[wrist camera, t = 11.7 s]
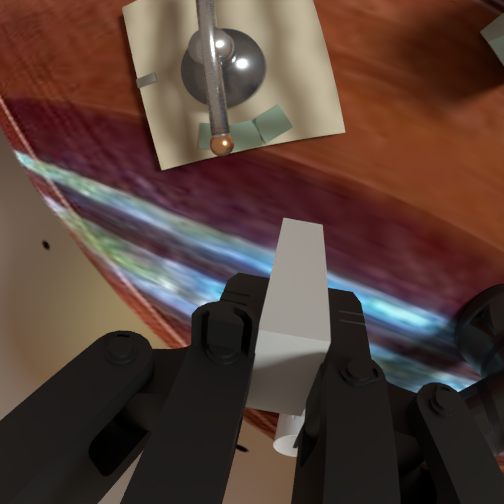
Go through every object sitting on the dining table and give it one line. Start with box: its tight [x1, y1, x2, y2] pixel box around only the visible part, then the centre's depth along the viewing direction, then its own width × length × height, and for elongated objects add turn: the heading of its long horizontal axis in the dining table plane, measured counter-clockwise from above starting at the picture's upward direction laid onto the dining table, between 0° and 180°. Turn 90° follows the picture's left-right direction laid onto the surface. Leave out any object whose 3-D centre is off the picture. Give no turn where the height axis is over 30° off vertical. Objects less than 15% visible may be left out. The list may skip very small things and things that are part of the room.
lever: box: [181, 0, 267, 156], centre depth 28 cm, size 21×9×7 cm, turn 6°
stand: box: [122, 0, 345, 170], centre depth 30 cm, size 22×23×5 cm
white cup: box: [273, 409, 305, 457], centre depth 50 cm, size 8×8×10 cm
